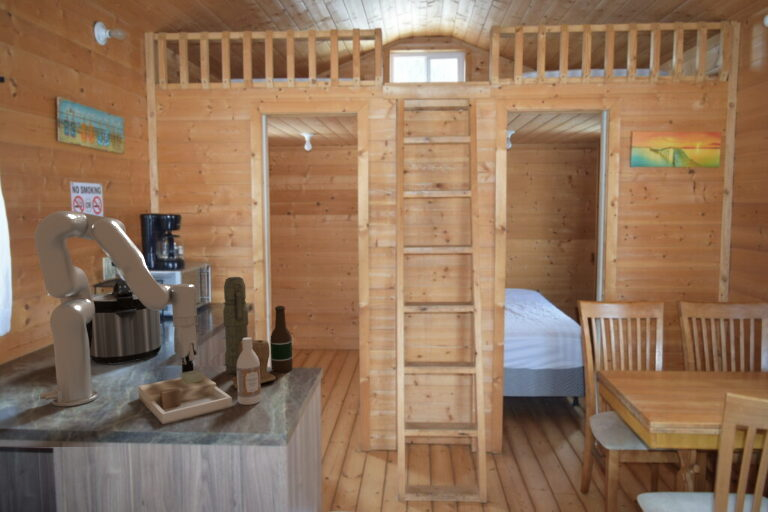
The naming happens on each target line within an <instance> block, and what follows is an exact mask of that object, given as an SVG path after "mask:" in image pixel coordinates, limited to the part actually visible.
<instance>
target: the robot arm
mask: <svg viewBox="0 0 768 512" xmlns="http://www.w3.org/2000/svg"><path fill="white" fill-rule="evenodd" d="M33 237H34V238H33V241H34V242H33V243H34V247H35V249H36V254H37V258H38V262H39V267H40V271H41V276H42V278H43V279H42V280H43V282H44V287H45V290H46V292H47V293H48V295H49V296H51V297H52V298H56V299H59V300H60V304H58V305H57V306H56V307H55V308H54V309H53V310H52V312H51V314H50V318H49V326H50V331H51V336H52V340H53V350H54V353H53V354H54V362H55V377H56V379H55V380H56V386H55V387H54V389H51V391H48V392H41V393H39V400H40V401H41V400H45V401H47V400H51V399H52V400H51V404H52V405H53V406H55V407H73V406H79V405H83V404H87V403H89V402H92V401H93V400H96V399H97V398H98V397H99V392H98V391H97V390H94V389H93V381H92V365H91V357H90V348H89V338H88V333H87V329H86V324H88V323H89V322H90V321H91V320H92V319H93V317H94V314H95V306H94V301H93V294H92V289H91V285H90V282H89V279H88V276H87V274H86V273H85V272H84V270H83V269H82V268H80V267H78V266H76V265H74V263H73V260H72V255H71V251H70V249H69V246H68V244H67V240H68V239H73V238H78V239H84V240H89V241H94V242H95V243H96V244H97V245H98V247H99V248H100V249H101V250H102V251H103V253H105V255H106V256H107V257H108V258H109V260H110V261H111V262H112V263H113V265H114V266H115V267H116V268H117V269H118V272H119V273H120V275H121V276H122V278H123V281H126V283H127V285H128V286H129V288H130V290H131V291H132V292H133V293H134V294H135V295H136V297H137V298H138V299H139V300H140V301H141V303H142V304H143V305H144V306H145V307H147V308H148V309H150V310H153V311H158V310H159V311H161V310H163V309H165V308H166V307H167V306H169V305H171V306H172V308H171V309H172V323H173V324H172V325H173V326H172V327H174V330H173V333H174V334H173V337H174V338H173V342H174V343H173V347H174V348H173V351H174V353H175V354H176V355H177V356H179V357H181V358H180V360H181V372H182V373H184V372H188V371H193V370H194V361H195V356H197V355H198V347H199V346H198V338H197V336H198V335H197V329H196V326H198V309H197V306H198V305H197V288H196V286H195V285H194V284H192V283H179V284H168V283H167V284H166V283H158V281H157V280H156V279H155V278H154V277H153V275H152V274H151V272H150V271H149V269H148V268H147V264H146V260H145V256H144V254H143V253H142V252H141V250H140V249H139V248H138V246H137V245H136V244H135V243H134V242H133V240H131V238H130V237H129V235H128V234H127V227H126V226H125V224H124V223H123V222H122V221H120V220H119V219H117V218H113V217H108V216H107V217H106V216H101V215H98V214H97V215H96V214H92V213H86V212H83V211H76V210H58V211H54V212H52V213H50V214H48V215H46V216H45V217H44V218H42V219H41V221H40V222H39V223H37V226H36V228H35V230H34V236H33ZM182 373H181V374H182Z"/></svg>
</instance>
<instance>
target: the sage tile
mask: <svg viewBox="0 0 768 512" xmlns="http://www.w3.org/2000/svg"><path fill="white" fill-rule="evenodd" d="M202 374H203V373H202V372H201V371H200V370H198V369H193V371H188V372H184V373H181V377H182V381H184V382H185V383H186V384H190V383H194V382H199V381H203V380H202Z"/></svg>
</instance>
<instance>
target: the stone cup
mask: <svg viewBox="0 0 768 512" xmlns="http://www.w3.org/2000/svg"><path fill="white" fill-rule="evenodd" d="M252 350H253V351H254V352H255V353H256V355H257V357H258V359H259V363H260V385H261V384H265V383H269V382H272V381H274V380H276V378H277V377H276V376H275V375H274V374H273V373H270V372H269V371H268V368H267V367H268V363H269V360H270V359H269V358H270V355H271V352H270V344H269V342H268V340H264V339H254V340H253V339H252ZM242 351H243V345H242V342H241V343H240V345H239V356H240V354H241V352H242ZM232 383H233V387H234V389H237V375H236V376H234V377H232Z"/></svg>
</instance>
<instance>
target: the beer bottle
mask: <svg viewBox="0 0 768 512" xmlns="http://www.w3.org/2000/svg"><path fill="white" fill-rule="evenodd" d="M274 307H275V308H274V310H275V324H274V329H273V330H272V332H271V335H270V361H271V362H270V364H271V366H270V367H271V370H272V371H273V373H280V374H281V373H287V372H288V373H289V372H291V371H292V370H293V342H292V341H293V340H292V334H291V332H290V330H289V329H288V328H287V323H286V322H287V321H286V314H285V310H286V307H285V306H284V305H277V306H274Z"/></svg>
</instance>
